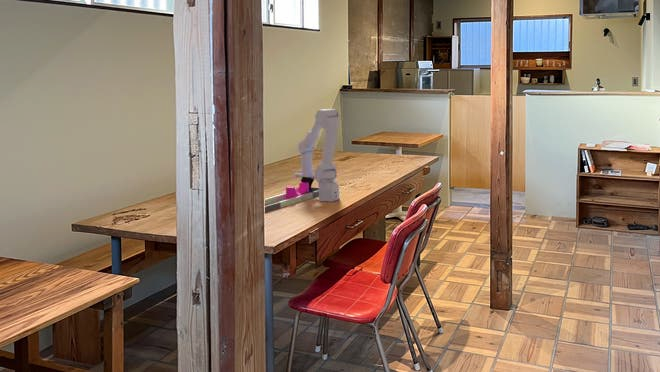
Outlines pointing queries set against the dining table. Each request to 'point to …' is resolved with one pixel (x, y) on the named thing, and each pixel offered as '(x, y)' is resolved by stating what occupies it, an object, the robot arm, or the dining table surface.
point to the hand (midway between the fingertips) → (307, 192)
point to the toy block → (297, 190)
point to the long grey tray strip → (313, 193)
